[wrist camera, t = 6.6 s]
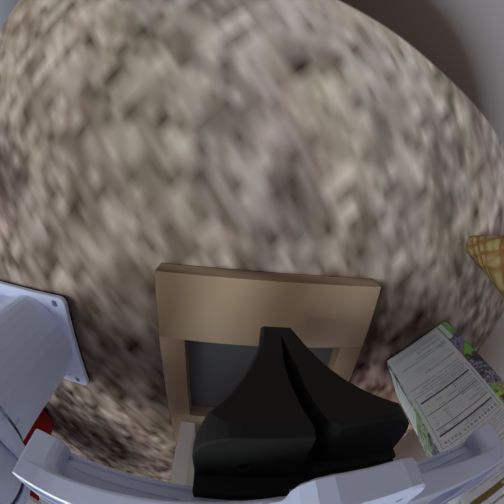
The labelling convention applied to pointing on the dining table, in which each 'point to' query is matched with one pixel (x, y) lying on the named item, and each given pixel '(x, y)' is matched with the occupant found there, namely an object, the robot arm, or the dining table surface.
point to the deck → (249, 327)
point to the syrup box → (450, 400)
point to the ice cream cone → (489, 257)
